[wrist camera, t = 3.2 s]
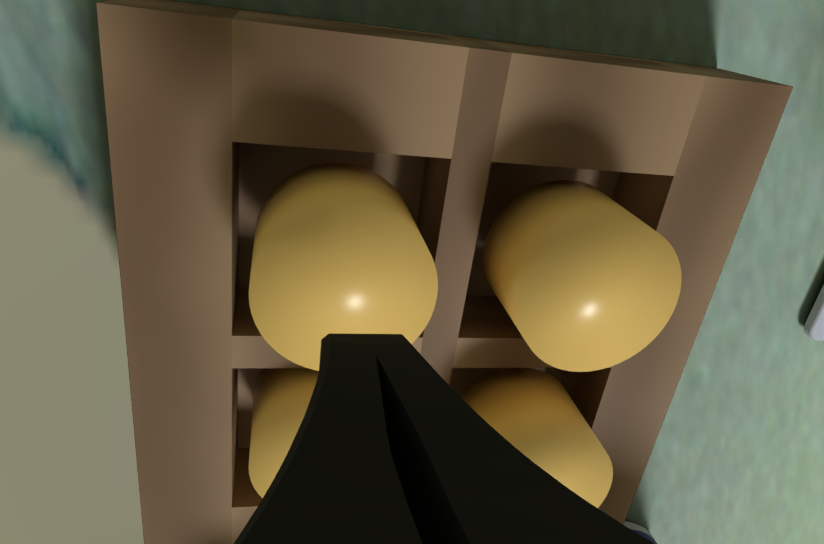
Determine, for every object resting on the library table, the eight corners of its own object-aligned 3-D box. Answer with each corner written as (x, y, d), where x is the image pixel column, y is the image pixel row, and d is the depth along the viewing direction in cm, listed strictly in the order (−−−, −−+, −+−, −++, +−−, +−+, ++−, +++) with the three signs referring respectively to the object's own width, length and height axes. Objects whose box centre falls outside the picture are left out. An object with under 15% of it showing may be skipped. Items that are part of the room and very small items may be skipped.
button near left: (422, 168, 15) (451, 212, 12) (402, 308, 17) (424, 372, 14) (256, 156, 14) (249, 201, 12) (253, 305, 16) (247, 373, 13)
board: (718, 68, 18) (793, 86, 15) (582, 476, 25) (617, 537, 22) (130, -5, 14) (96, 2, 12) (163, 495, 21) (146, 571, 18)
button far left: (387, 342, 19) (404, 404, 16) (374, 442, 21) (387, 512, 18) (254, 341, 18) (249, 406, 15) (252, 446, 20) (247, 520, 17)
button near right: (637, 184, 16) (704, 226, 14) (599, 312, 18) (652, 371, 15) (497, 174, 16) (541, 217, 13) (471, 309, 17) (505, 371, 15)
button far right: (582, 367, 19) (630, 432, 16) (553, 464, 21) (592, 537, 18) (460, 367, 18) (489, 436, 15) (440, 468, 20) (464, 546, 17)
